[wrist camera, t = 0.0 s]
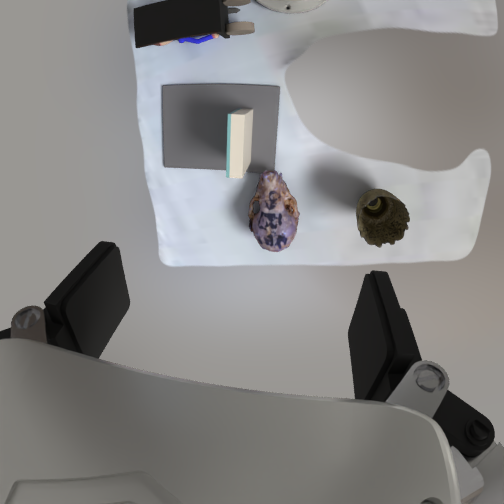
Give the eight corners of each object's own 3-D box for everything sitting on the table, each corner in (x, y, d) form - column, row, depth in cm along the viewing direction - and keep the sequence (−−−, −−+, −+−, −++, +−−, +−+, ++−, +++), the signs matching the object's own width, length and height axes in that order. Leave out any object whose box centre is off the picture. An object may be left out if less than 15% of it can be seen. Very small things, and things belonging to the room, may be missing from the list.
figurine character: (250, -2, 34) (148, 15, 35) (249, -17, 28) (129, 6, 29) (255, 39, 38) (152, 55, 39) (255, 31, 31) (134, 51, 32)
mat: (163, 85, 41) (162, 85, 41) (280, 86, 40) (279, 86, 39) (165, 166, 48) (164, 167, 47) (274, 173, 46) (273, 174, 46)
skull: (250, 164, 45) (250, 182, 40) (302, 167, 45) (310, 184, 40) (247, 234, 52) (247, 257, 47) (293, 235, 53) (299, 258, 48)
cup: (392, 174, 44) (408, 193, 37) (396, 218, 47) (410, 242, 40) (345, 182, 46) (354, 201, 39) (352, 225, 49) (360, 251, 42)
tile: (239, 108, 42) (227, 114, 35) (253, 109, 41) (244, 114, 35) (237, 161, 46) (226, 177, 39) (250, 162, 46) (242, 178, 39)
